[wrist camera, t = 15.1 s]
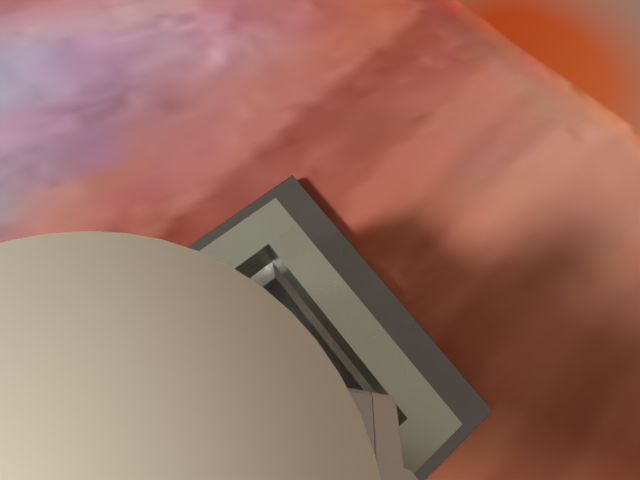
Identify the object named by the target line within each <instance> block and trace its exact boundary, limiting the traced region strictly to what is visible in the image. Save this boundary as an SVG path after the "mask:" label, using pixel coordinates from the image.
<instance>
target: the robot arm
mask: <svg viewBox="0 0 640 480" xmlns="http://www.w3.org/2000/svg"><path fill="white" fill-rule="evenodd" d="M347 389H348V391H349V393H350V395H351V397H352V399H353V401H354V403H355V405H356V407H357V409H358V411H359V413H360V415H361V418H362V421H363V424H364V426H365V429H366V432H367V434H368V437H369V440H370V443H371V445H372V448H373V451H374V454H375V457H376V461H377V465H378V470H379V474H380V478H381V480H418V479H417V477H416V476H415V474H414V473H413V471H412V470H408V469H404V461H403V453H402V445H401V438H400V430H399V422H398V414H397V406H396V400H395V398H394V396H390V395H385V394H379V393H373V392H371V393H370V392H369V391H363V390H357V389H351V388H347Z"/></svg>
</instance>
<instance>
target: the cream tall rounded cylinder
mask: <svg viewBox="0 0 640 480" xmlns="http://www.w3.org/2000/svg"><path fill="white" fill-rule="evenodd" d="M0 480H381V478H380V474H379V470H378V465H377V461H376V457H375V454H374V451H373V448H372V445H371V443H370V440H369V437H368V434H367V432H366V429H365V426H364V424H363V421H362V418H361V415H360V413H359V411H358V409H357V407H356V405H355V403H354V401H353V399H352V397H351V395H350V393H349V391H348V389H347V387H346V385H345V383H344V381H343V379H342V377H341V375H340V374H339V372H338V371H337V369H336V368H335V366H334V365H333V363H332V362H331V360H330V359H329V357H328V356H327V355H326V353H325V352H324V350H323V349H322V347H321V346H320V344H319V343H318V341H317V340H316V339H315V338H314V337H313V336H312V334H311V333H310V332H309V331H308V330H307V329H306V328H305V327H304V325H303V324H302V323H301V322H300V321H299V320H298V319H297V318H296V317H295V315H294V314H293V313H292V312H291V311H290V310H289V309H288V308H286V307H285V306H284V305H283V304H282V303H281V302H279V301H278V300H277V299H276V298H275V297H274V296H272V295H271V294H270V293H269V292H268V291H267V290H265V289H264V288H263V287H262V286H260V285H259V284H257V283H256V282H254V281H253V280H251V279H249V278H248V277H246V276H245V275H243V274H242V273H240V272H239V271H237V270H236V269H234V268H232V267H231V266H229V265H227V264H225V263H222V262H220V261H218V260H216V259H214V258H212V257H210V256H208V255H205V254H203V253H201V252H199V251H196V250H193V249H190V248H187V247H184V246H181V245H178V244H175V243H171V242H168V241H165V240H161V239H156V238H150V237H145V236H139V235H134V234H128V233H116V232H98V231H79V232H63V233H48V234H43V235H37V236H31V237H26V238H20V239H15V240H9V241H5V242H2V243H0Z"/></svg>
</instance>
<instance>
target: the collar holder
mask: <svg viewBox="0 0 640 480" xmlns="http://www.w3.org/2000/svg"><path fill="white" fill-rule="evenodd" d="M187 248H190V249H193V250H196V251H199V252H201V253H203V254H205V255H208V256H210V257H212V258H214V259H216V260H218V261H220V262H222V263H225V264H227V265H229V266H231V267H232V268H234V269H236V270H237V271H239V272H240V273H242V274H243V275H245V276H246V277H248V278H249V279H251V280H253V281H254V282H256V283H257V284H259V285H260V286H262V287H263V288H264V289H265V290H267V291H268V292H269V293H270V294H271V295H272V296H274V297H275V298H276V299H277V300H278V301H279V302H281V303H282V304H283V305H284V306H285V307H286V308H288V309H289V310H290V311H291V312H292V313H293V314H294V315H295V317H296V318H297V319H298V320H299V321H300V322H301V323H302V324H303V325H304V327H305V328H306V329H307V330H308V331H309V332H310V333H311V334H312V336H313V337H314V338H315V339H316V340H317V341H318V343H319V344H320V346H321V347H322V349H323V350H324V352H325V353H326V355H327V356H328V357H329V359H330V360H331V362H332V363H333V365H334V366H335V368H336V369H337V371H338V372H339V374H340V375H341V377H342V379H343V381H344V383H345V385H346V387H347V388H351V389H357V390H363V391H369V392H370V393H371V392H373V393H379V394H385V395H390V396H394V398H395V400H396V406H397V414H398V422H399V430H400V438H401V445H402V453H403V461H404V469H408V470H412V471H413V473H414V474H415V476H416V477H417V479H418V480H425V479H426V478H427V477H428V476H429V475H430V474H431V473H432V472H433V471H434V470H435V469H436V468H437V467H438V466H439V465H440V464H441V463H442V462H443V461H444V460H445V459H446V458H447V457H448V456H449V455H450V454H451V453H452V451H453V450H454V449H455V448H456V447H457V446H458V445H459V444H460V443H461V442H462V441H463V440H464V439H465V438H466V437H467V436H468V435H469V434H470V433H471V432H472V431H473V430H474V429H475V428H476V427H477V426H478V425H479V424H480V423H481V422H482V421H483V420H484V419H485V418H486V417H487V416H488V415H489V414H490V413H491V411H492V410H491V409H490V407H489V406H488V405H487V404H486V403H485V401H484V400H483V399H482V398H481V397H480V396H479V394H478V393H477V392H476V391H475V390H474V389H473V387H472V386H471V385H470V384H469V383H468V381H467V380H466V379H465V378H464V377H463V376H462V374H461V373H460V372H459V371H458V370H457V368H456V367H455V366H454V365H453V364H452V363H451V361H450V360H449V359H448V358H447V357H446V356H445V354H444V353H443V352H442V351H441V350H440V348H439V347H438V346H437V345H436V344H435V343H434V341H433V340H432V339H431V338H430V337H429V335H428V334H427V333H426V332H425V331H424V330H423V328H422V327H421V326H420V325H419V324H418V323H417V321H416V320H415V319H414V318H413V317H412V315H411V314H410V313H409V312H408V311H407V310H406V308H405V307H404V306H403V305H402V304H401V303H400V301H399V300H398V299H397V298H396V297H395V295H394V294H393V293H392V292H391V291H390V290H389V288H388V287H387V286H386V285H385V284H384V282H383V281H382V280H381V279H380V278H379V277H378V275H377V274H376V273H375V272H374V271H373V270H372V268H371V267H370V266H369V265H368V264H367V262H366V261H365V260H364V259H363V258H362V257H361V255H360V254H359V253H358V252H357V251H356V249H355V248H354V247H353V246H352V245H351V244H350V242H349V241H348V240H347V239H346V238H345V237H344V235H343V234H342V233H341V232H340V231H339V229H338V228H337V227H336V226H335V225H334V224H333V222H332V221H331V220H330V219H329V218H328V217H327V215H326V214H325V213H324V212H323V211H322V209H321V208H320V207H319V206H318V205H317V204H316V202H315V201H314V200H313V199H312V198H311V196H310V195H309V194H308V193H307V192H306V191H305V189H304V188H303V187H302V186H301V185H300V184H299V182H298V181H297V180H296V179H295V178H294V176H293V175H292V176H290V177H289V178H287V179H286V180H284V181H283V182H282V183H280V184H279V185H277V186H276V187H274V188H273V189H271V190H270V191H269V192H267V193H266V194H264V195H263V196H261V197H260V198H258V199H257V200H255V201H254V202H253V203H251V204H250V205H248V206H247V207H245V208H244V209H242V210H241V211H239V212H238V213H237V214H235V215H234V216H232V217H231V218H229V219H228V220H226V221H225V222H224V223H222V224H221V225H219V226H218V227H216V228H215V229H213V230H212V231H210V232H209V233H208V234H206V235H205V236H203V237H202V238H200V239H199V240H197V241H196V242H195V243H193V244H192V245H190V246H189V247H187Z"/></svg>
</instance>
